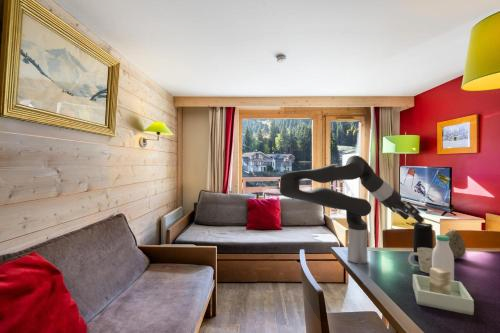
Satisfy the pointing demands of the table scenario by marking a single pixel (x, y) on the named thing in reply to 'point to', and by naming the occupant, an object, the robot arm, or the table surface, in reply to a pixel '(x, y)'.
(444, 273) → the birch block
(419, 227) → the portable speaker
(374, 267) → the table surface
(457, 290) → the bin
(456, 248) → the decorative egg
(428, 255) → the mug
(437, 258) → the milk bottle
